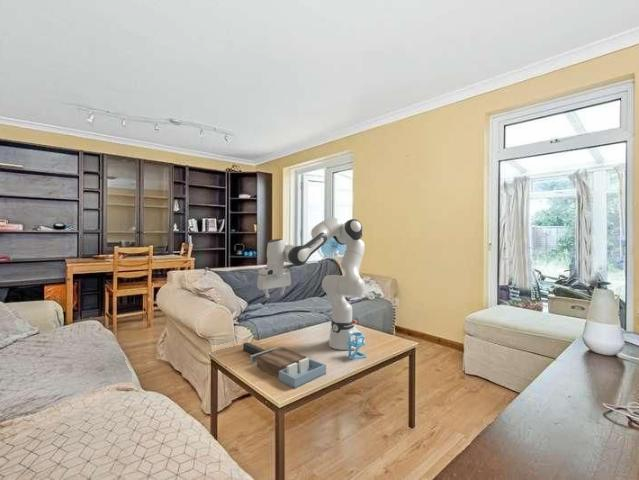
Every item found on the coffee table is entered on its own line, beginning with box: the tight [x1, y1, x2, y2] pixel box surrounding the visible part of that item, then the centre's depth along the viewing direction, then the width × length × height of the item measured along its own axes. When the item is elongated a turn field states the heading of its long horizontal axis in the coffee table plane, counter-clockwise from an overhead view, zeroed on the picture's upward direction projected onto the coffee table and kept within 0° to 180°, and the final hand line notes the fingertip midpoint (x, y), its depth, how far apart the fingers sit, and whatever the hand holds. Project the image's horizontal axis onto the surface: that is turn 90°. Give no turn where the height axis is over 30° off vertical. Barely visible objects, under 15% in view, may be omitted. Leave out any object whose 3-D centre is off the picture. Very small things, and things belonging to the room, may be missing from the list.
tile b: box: [287, 363, 298, 377], centre depth 138 cm, size 5×5×2 cm
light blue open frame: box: [347, 332, 368, 360], centre depth 163 cm, size 8×8×12 cm
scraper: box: [242, 342, 280, 365], centre depth 162 cm, size 18×16×4 cm
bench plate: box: [256, 347, 307, 379], centre depth 148 cm, size 16×16×5 cm
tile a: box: [299, 357, 310, 373], centre depth 144 cm, size 5×5×2 cm
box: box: [278, 358, 327, 389], centre depth 139 cm, size 19×10×4 cm, turn 138°
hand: (274, 296), depth 167 cm, fingers open, 8 cm apart
